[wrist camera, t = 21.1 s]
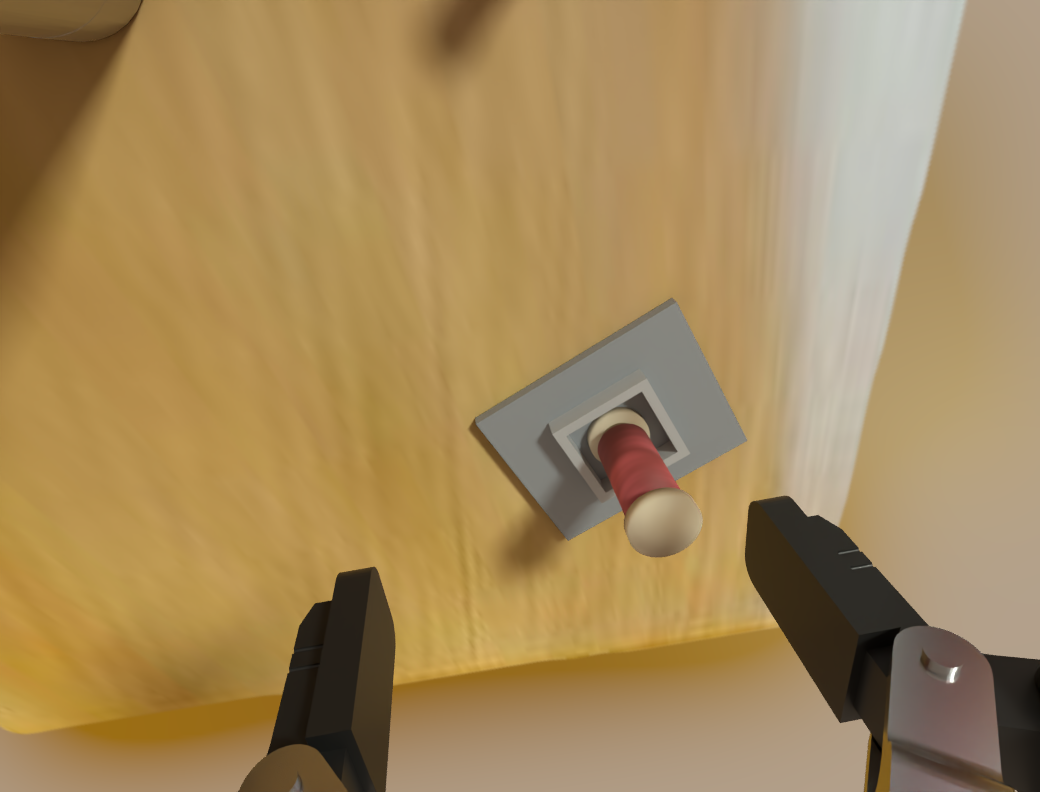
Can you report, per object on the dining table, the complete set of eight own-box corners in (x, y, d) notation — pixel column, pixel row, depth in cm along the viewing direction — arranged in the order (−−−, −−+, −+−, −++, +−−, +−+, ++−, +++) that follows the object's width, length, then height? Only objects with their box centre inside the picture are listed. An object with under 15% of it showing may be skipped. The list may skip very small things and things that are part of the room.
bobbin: (589, 463, 51) (629, 563, 41) (584, 412, 49) (626, 504, 38) (646, 453, 52) (701, 549, 41) (645, 402, 49) (703, 490, 39)
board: (565, 533, 56) (571, 554, 53) (475, 418, 49) (477, 436, 47) (742, 434, 53) (757, 451, 51) (672, 297, 46) (685, 310, 44)
